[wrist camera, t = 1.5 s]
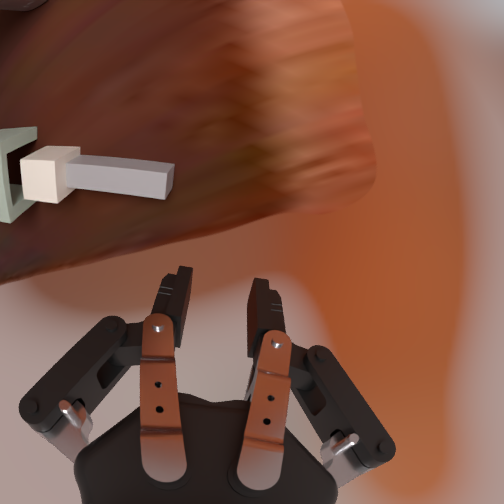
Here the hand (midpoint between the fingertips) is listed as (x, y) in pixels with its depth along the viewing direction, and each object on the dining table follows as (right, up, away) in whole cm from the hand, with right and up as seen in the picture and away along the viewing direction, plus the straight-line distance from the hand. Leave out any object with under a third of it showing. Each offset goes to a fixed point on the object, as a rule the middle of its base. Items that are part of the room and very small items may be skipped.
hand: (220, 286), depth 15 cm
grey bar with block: (-15, +11, +11) cm, 21 cm away
